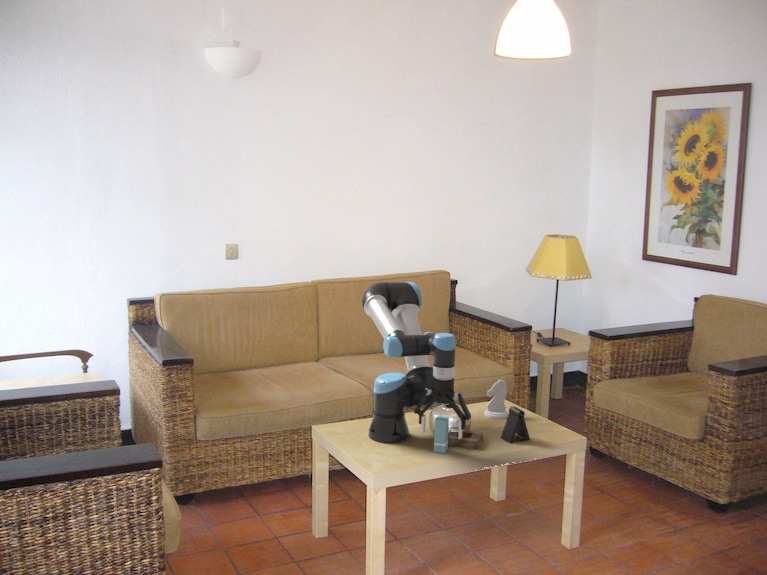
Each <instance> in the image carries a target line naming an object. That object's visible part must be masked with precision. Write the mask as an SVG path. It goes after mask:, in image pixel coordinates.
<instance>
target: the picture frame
mask: <svg viewBox="0 0 767 575" xmlns="http://www.w3.org/2000/svg"><path fill="white" fill-rule="evenodd" d="M525 416H526V413H525V411H524V410H523V409H520V408H518V407H516V405H513V406H510V407H509V409H508V417H507V418H506V420H505V421H506V422H505V425H504V427H503V429H502V433H501V435H500V438H501V439H502V440H504V441H506V442H507V443H509V444H515V443H520V442H521V443H523V442H528V441H531V438H530V434H529V431H528V426H527V423H526V419H525Z"/></svg>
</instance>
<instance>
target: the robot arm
mask: <svg viewBox="0 0 767 575" xmlns="http://www.w3.org/2000/svg"><path fill="white" fill-rule="evenodd" d="M422 297H423V296H422V291H421V289H420V287H419V285H418V284H417V283H415V282H413V281H406V280H404V281H388V282H386V281H385V282H383V281H382V282H376V283H373V284H371V285H370V286H369V287H368V288H366V290H365V291H364V292H363V295H362V298H361V307H362V309H363V311H364V313H365V314H366V315H367V316H369V317H370V318H371V319H372V321H373V323H374V324H375V326H376V328H377V329H378V331H379V334H381V336H382V338H383V343H382V347H383V348H382V349H383V352H384V355H385V357H387V358H400V357H401V358H402V357H404V359H405V360H404V361H405V364H406V368H407V371H406V373H403V372H394V371H392V372H386V373H383V374H380V375H379V376H377V377H376V378H375V380H374V387H373V416H372V419H371V422H370V425H369V427H368V437H369V438H370V439H371V440H373V441H376V442H379V443H380V442H381V443H387V444H389V443H391V444H392V443H393V444H394V443H400V442H404V441H406V440H408V439H409V436H410V430H409V426H408V423H407V420H406V415H405V414H406V409H411V408H415V409H414V411H413V413H414V414H415V415H416V414H417V415H418V423H419V425H421V428H420V430H421V431H420V434H421V435H424V434H426V426H427V424H426V421H427V420H426V419H427V414H425V413H426V412H427V411H428V410H429V409H430V407H435V406H439V405H440V404H443V405H447V404H448V405H449V406H450V407H451V408H452V410H453V411H454V412H455V414H456V415H457V416H458V418H459V421H458V429H459V437H458V439H461V438H462V431H463V430H466V421H469V420H471V418H472V415H471V413H470V410H469V408H468V405H467V403H466V402H465V399H464V392H463V391H459V392H455V378H454V377H455V366H456V363H455V362H456V361H455V360H456V346H457V344H456V336H455V335H454V334H452V333H449V332H438V333H435V332H432V331H426V332H424V333H423V334H422V331H421V325H420V322H419V317H418V313H419V312H420V309H421V308H422V304H423V299H422ZM428 356H432V358H433V361H432V362H433V364H432V365H433V366H431V365H430V362H429V361H430V360H429V358H428ZM454 398H456V399H457V400H458V403H459V405H460V407H461V408H460V407H459V406H458V404H457V403H456V401H455V399H454ZM422 408H423V409H422Z"/></svg>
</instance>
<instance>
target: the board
mask: <svg viewBox="0 0 767 575" xmlns="http://www.w3.org/2000/svg"><path fill="white" fill-rule="evenodd" d="M464 430H465V431H462V438H461V439H458V437H459V432H450V431H448V446H449V445H450V446H451V447H456V446H457V447H458V448H465V449H471V450H478V449H479V447H481V444H482V443H483V441H484V432H482V431H481V432H480V431H473V430H467V429H464Z"/></svg>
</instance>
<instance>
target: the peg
mask: <svg viewBox="0 0 767 575" xmlns="http://www.w3.org/2000/svg"><path fill="white" fill-rule="evenodd" d="M449 420H450V418H449V417H448V416H440V415H438V416H437V417H436V418H435V419H434V437H433V438H434V439H433V440H434V441H433V452H435V453H440V454H446V452H447V451H448V447H449V445H448V433H449V422H450V421H449Z"/></svg>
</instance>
